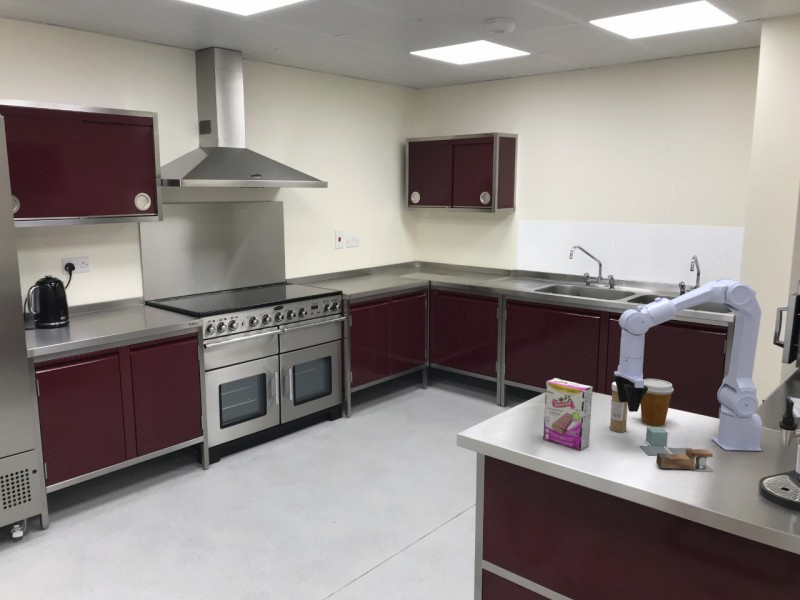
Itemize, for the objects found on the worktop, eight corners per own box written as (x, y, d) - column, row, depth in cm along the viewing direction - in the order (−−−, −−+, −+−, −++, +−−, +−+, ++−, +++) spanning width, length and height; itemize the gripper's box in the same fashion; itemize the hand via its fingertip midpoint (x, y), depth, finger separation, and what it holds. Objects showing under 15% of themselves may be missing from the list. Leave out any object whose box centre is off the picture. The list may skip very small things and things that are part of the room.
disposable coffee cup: (649, 415, 186) (652, 376, 185) (678, 425, 178) (681, 384, 177) (628, 420, 182) (631, 381, 180) (656, 431, 174) (659, 389, 172)
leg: (706, 463, 151) (707, 449, 150) (711, 469, 148) (713, 454, 147) (656, 462, 151) (657, 448, 151) (660, 468, 148) (662, 452, 148)
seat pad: (662, 446, 162) (662, 446, 162) (672, 455, 156) (672, 455, 156) (639, 446, 163) (639, 445, 163) (647, 455, 157) (647, 454, 157)
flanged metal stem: (705, 464, 151) (706, 452, 151) (712, 471, 147) (713, 458, 147) (688, 464, 151) (689, 451, 151) (695, 471, 147) (696, 458, 147)
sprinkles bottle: (629, 430, 174) (632, 384, 172) (619, 433, 171) (622, 386, 169) (616, 425, 178) (619, 380, 176) (605, 428, 175) (608, 382, 173)
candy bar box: (542, 440, 166) (544, 381, 164) (551, 435, 170) (554, 377, 167) (580, 451, 159) (584, 389, 156) (589, 446, 162) (593, 385, 160)
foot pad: (691, 448, 161) (691, 448, 161) (701, 458, 155) (701, 457, 155) (668, 448, 161) (668, 447, 161) (677, 457, 155) (677, 456, 155)
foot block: (660, 441, 166) (661, 427, 166) (666, 447, 162) (667, 432, 162) (645, 441, 166) (646, 426, 166) (651, 446, 162) (652, 432, 162)
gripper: (607, 349, 168) (604, 397, 170) (625, 363, 154) (621, 415, 156) (634, 349, 168) (630, 398, 170) (653, 363, 154) (649, 416, 156)
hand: (628, 406), depth 163 cm, fingers open, 7 cm apart
